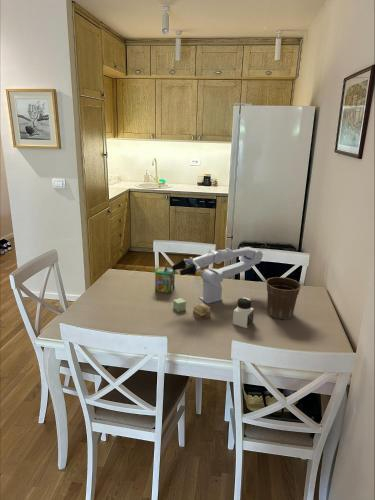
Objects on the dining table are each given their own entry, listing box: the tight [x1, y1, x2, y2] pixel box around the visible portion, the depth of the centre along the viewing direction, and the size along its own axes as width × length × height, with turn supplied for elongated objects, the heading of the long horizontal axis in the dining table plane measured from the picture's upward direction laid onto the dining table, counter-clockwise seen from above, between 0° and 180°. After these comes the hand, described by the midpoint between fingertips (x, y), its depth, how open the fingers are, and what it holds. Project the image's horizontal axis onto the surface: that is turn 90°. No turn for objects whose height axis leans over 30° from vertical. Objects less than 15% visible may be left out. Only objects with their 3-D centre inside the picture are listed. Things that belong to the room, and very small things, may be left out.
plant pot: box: [265, 276, 302, 320], centre depth 175 cm, size 16×16×16 cm
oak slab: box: [193, 302, 211, 316], centre depth 173 cm, size 6×6×2 cm
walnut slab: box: [192, 309, 211, 321], centre depth 174 cm, size 6×6×2 cm
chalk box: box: [154, 263, 176, 294], centre depth 199 cm, size 9×9×15 cm
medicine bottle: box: [232, 297, 255, 329], centre depth 166 cm, size 7×7×12 cm
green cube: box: [172, 297, 187, 312], centre depth 179 cm, size 4×4×4 cm
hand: (176, 270), depth 175 cm, fingers open, 7 cm apart
